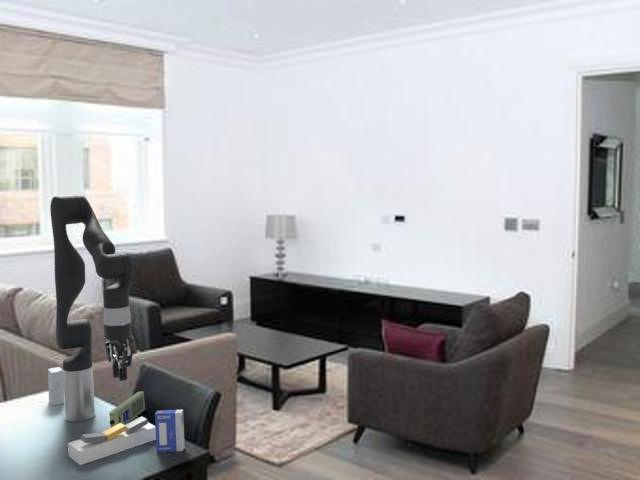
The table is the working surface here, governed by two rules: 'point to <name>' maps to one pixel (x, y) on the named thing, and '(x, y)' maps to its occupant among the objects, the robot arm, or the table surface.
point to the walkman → (169, 430)
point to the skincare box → (56, 386)
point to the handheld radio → (128, 409)
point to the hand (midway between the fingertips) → (120, 378)
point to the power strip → (110, 445)
